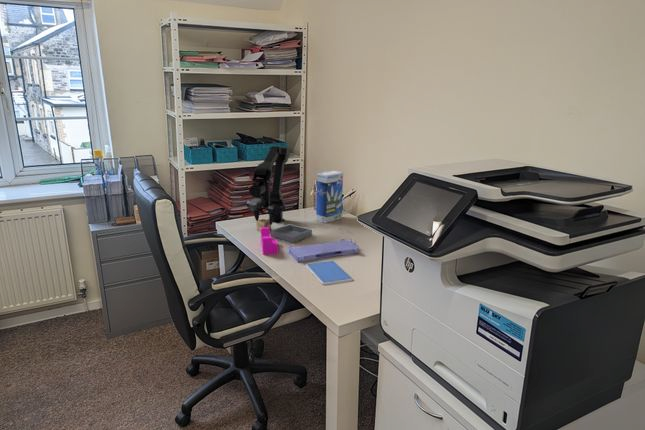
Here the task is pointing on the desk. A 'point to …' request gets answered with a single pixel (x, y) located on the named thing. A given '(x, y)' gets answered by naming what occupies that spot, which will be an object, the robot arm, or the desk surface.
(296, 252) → the lavender slotted plate
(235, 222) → the desk surface
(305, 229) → the tray
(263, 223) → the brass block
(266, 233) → the toy block
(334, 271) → the blue book
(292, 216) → the desk surface
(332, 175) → the string lights box
